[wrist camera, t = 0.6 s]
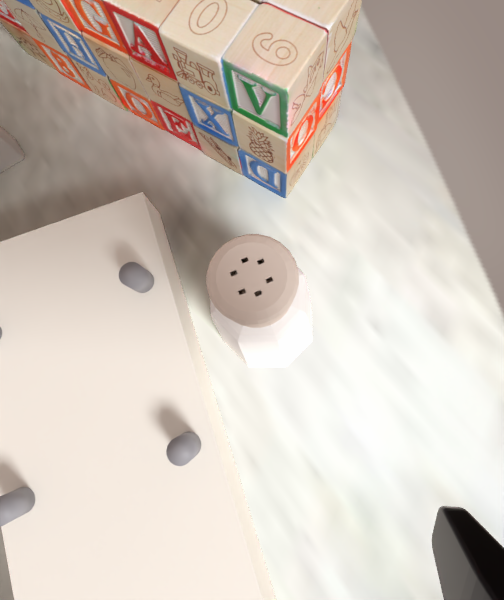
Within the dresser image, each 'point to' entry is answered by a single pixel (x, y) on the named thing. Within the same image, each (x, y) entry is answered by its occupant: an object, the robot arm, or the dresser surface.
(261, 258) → the pepper shaker
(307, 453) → the dresser surface
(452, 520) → the robot arm
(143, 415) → the cream board with pegs
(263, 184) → the stack of blocks
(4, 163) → the lighter
